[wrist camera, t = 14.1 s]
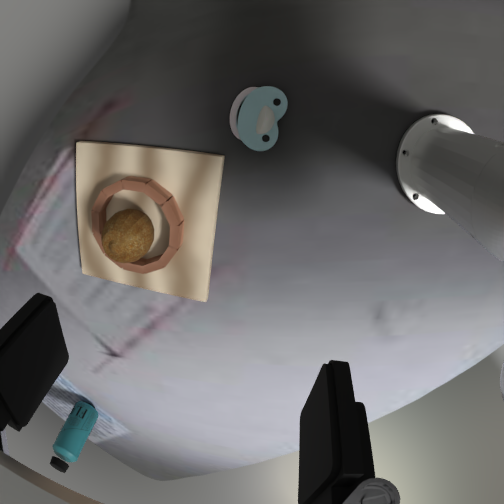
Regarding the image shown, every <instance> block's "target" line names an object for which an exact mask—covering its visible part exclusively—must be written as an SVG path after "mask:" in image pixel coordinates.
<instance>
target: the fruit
mask: <svg viewBox="0 0 504 504" xmlns="http://www.w3.org/2000/svg"><path fill="white" fill-rule="evenodd" d="M101 241H102V246H103V249H104V251H105V253H106V254H107V255H108V257H109V258H111V259H112V260H114V261H116V262H120V263H130V262H135V261H137V260H139V259H140V258H141V257H143V256H144V255H145V254H146V253H147V252H148V251H149V249H150V247H151V245H152V243H153V241H154V226H153V224H152V221H151V219H150V218H149V217H148V215H147V214H145V213H144V212H142V211H140V210H137V209H125V210H121V211H118V212H116V213H115V214H114V215H113V216H112V217H111V218H110V219H109V220H108V221H107V222H106V224H105V226H104V228H103V231H102V235H101Z"/></svg>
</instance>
